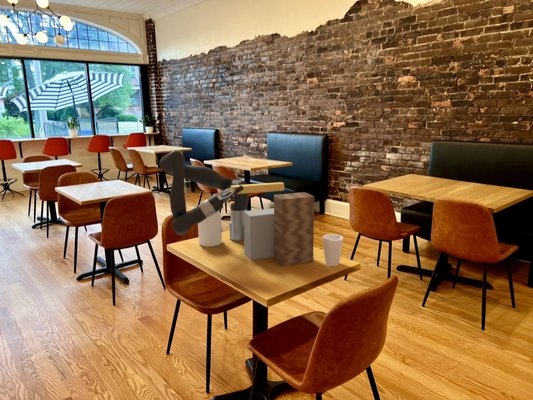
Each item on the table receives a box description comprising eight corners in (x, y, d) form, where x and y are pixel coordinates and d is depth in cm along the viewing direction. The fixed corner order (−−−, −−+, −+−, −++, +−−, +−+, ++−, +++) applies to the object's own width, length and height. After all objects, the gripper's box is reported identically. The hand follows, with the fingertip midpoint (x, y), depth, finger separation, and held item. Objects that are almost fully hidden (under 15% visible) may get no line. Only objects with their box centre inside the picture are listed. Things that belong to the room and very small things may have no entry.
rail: (232, 194, 185) (232, 186, 185) (230, 192, 189) (230, 185, 188) (284, 190, 194) (284, 183, 193) (281, 189, 197) (281, 182, 197)
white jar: (212, 248, 209) (211, 211, 204) (194, 244, 215) (192, 208, 210) (226, 241, 219) (225, 206, 215) (208, 238, 225) (207, 203, 221)
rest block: (250, 260, 192) (249, 216, 187) (244, 253, 202) (243, 211, 197) (281, 255, 198) (281, 212, 193) (273, 249, 207) (273, 208, 202)
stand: (282, 266, 184) (282, 199, 177) (274, 259, 193) (273, 194, 186) (313, 261, 190) (314, 196, 182) (303, 254, 199) (304, 192, 192)
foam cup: (318, 261, 190) (318, 235, 187) (334, 258, 194) (335, 233, 191) (329, 268, 181) (329, 241, 178) (346, 265, 185) (347, 238, 182)
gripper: (210, 203, 177) (241, 182, 180) (203, 196, 190) (233, 177, 193) (218, 216, 180) (249, 195, 183) (211, 209, 193) (240, 189, 196)
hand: (241, 186), depth 188 cm, fingers closed on rail, 3 cm apart
